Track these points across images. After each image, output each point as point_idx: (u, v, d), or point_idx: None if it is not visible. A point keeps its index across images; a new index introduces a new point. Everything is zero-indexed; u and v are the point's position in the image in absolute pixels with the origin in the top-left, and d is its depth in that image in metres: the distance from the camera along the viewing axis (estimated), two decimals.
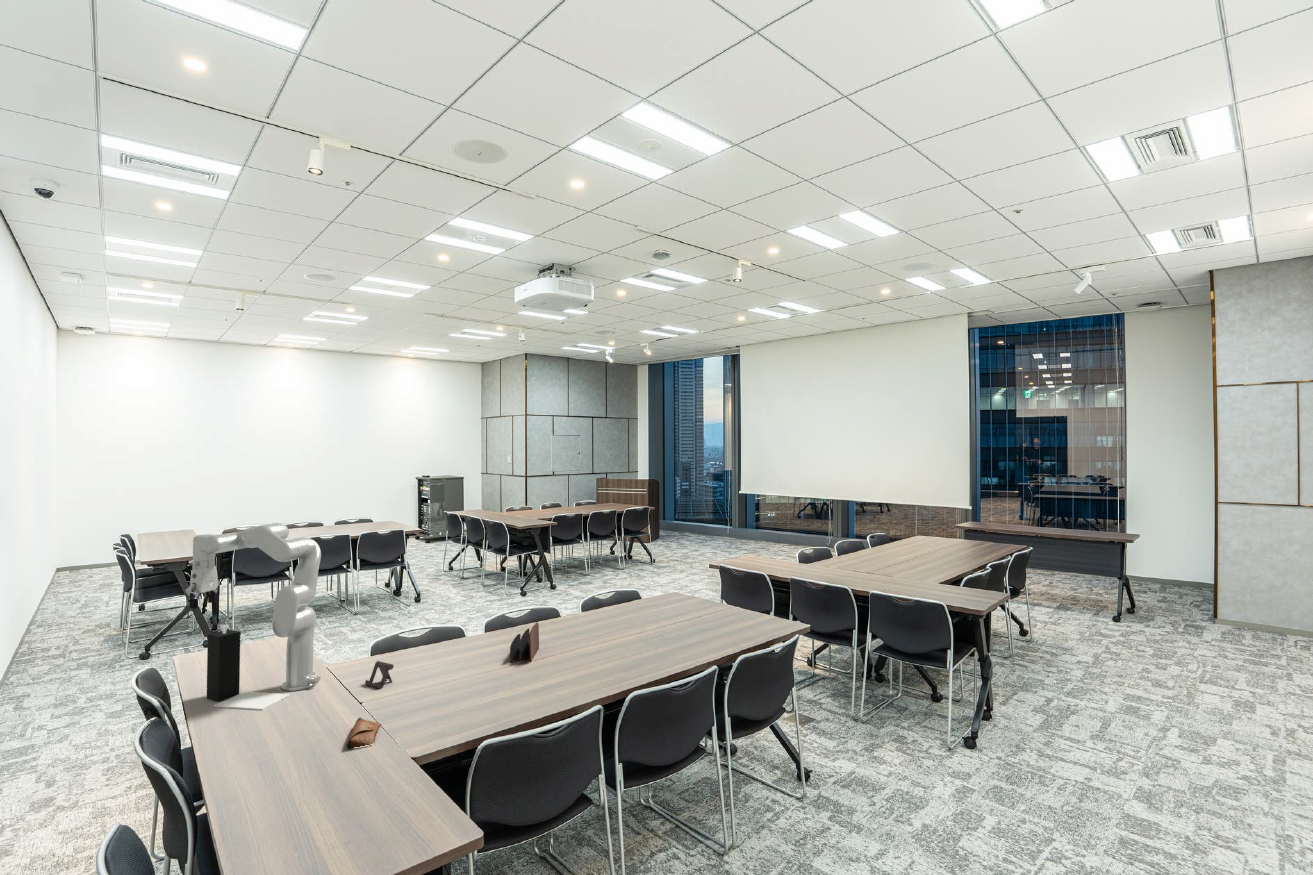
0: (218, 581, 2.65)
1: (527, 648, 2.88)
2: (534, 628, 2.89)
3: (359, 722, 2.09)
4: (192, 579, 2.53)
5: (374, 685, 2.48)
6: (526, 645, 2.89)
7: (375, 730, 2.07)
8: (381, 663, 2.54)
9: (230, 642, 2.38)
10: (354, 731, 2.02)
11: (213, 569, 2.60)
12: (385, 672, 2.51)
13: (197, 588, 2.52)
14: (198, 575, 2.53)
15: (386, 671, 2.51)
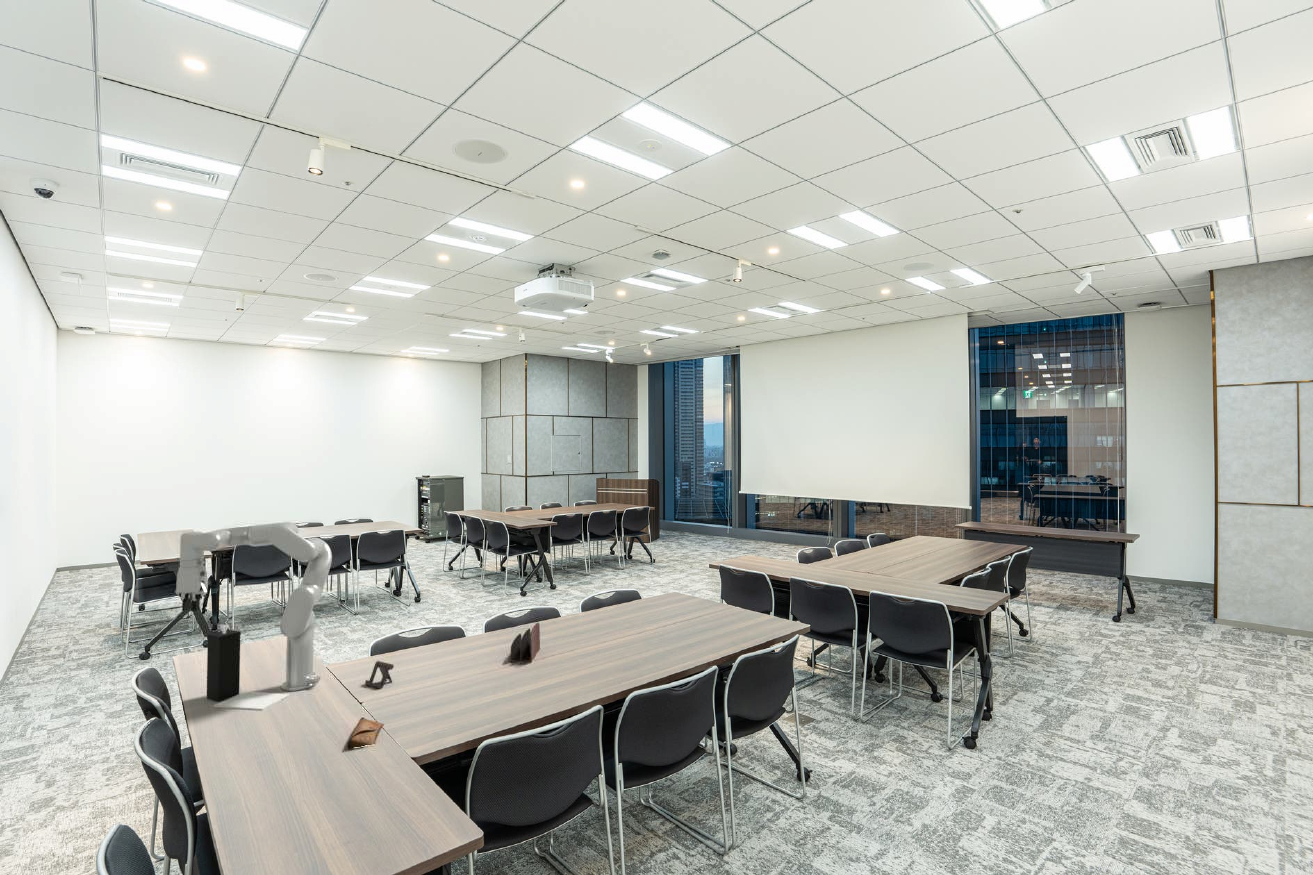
0: None
1: (528, 648, 2.88)
2: (535, 628, 2.89)
3: (361, 722, 2.09)
4: (200, 577, 2.41)
5: (374, 685, 2.48)
6: (527, 645, 2.89)
7: (377, 730, 2.07)
8: (381, 663, 2.54)
9: (230, 642, 2.38)
10: (355, 731, 2.02)
11: None
12: (385, 672, 2.51)
13: (206, 585, 2.43)
14: (206, 572, 2.44)
15: (386, 671, 2.51)
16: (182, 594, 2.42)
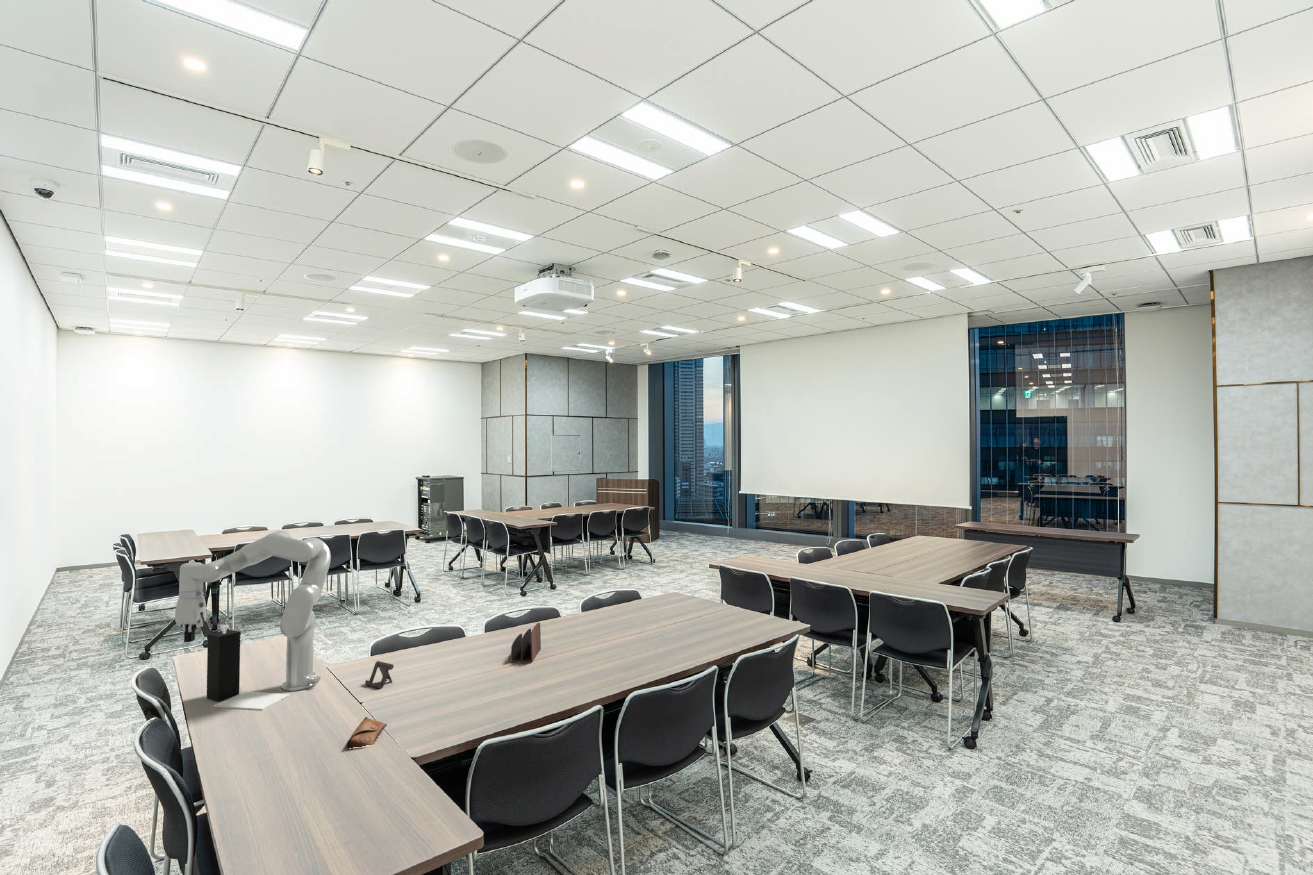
0: None
1: (528, 648, 2.88)
2: (535, 628, 2.89)
3: (364, 721, 2.09)
4: (199, 609, 2.41)
5: (374, 685, 2.48)
6: (527, 645, 2.89)
7: (378, 730, 2.07)
8: (381, 663, 2.54)
9: (230, 642, 2.38)
10: (356, 730, 2.02)
11: None
12: (385, 672, 2.51)
13: (205, 616, 2.43)
14: (205, 603, 2.43)
15: (386, 671, 2.51)
16: (183, 625, 2.41)
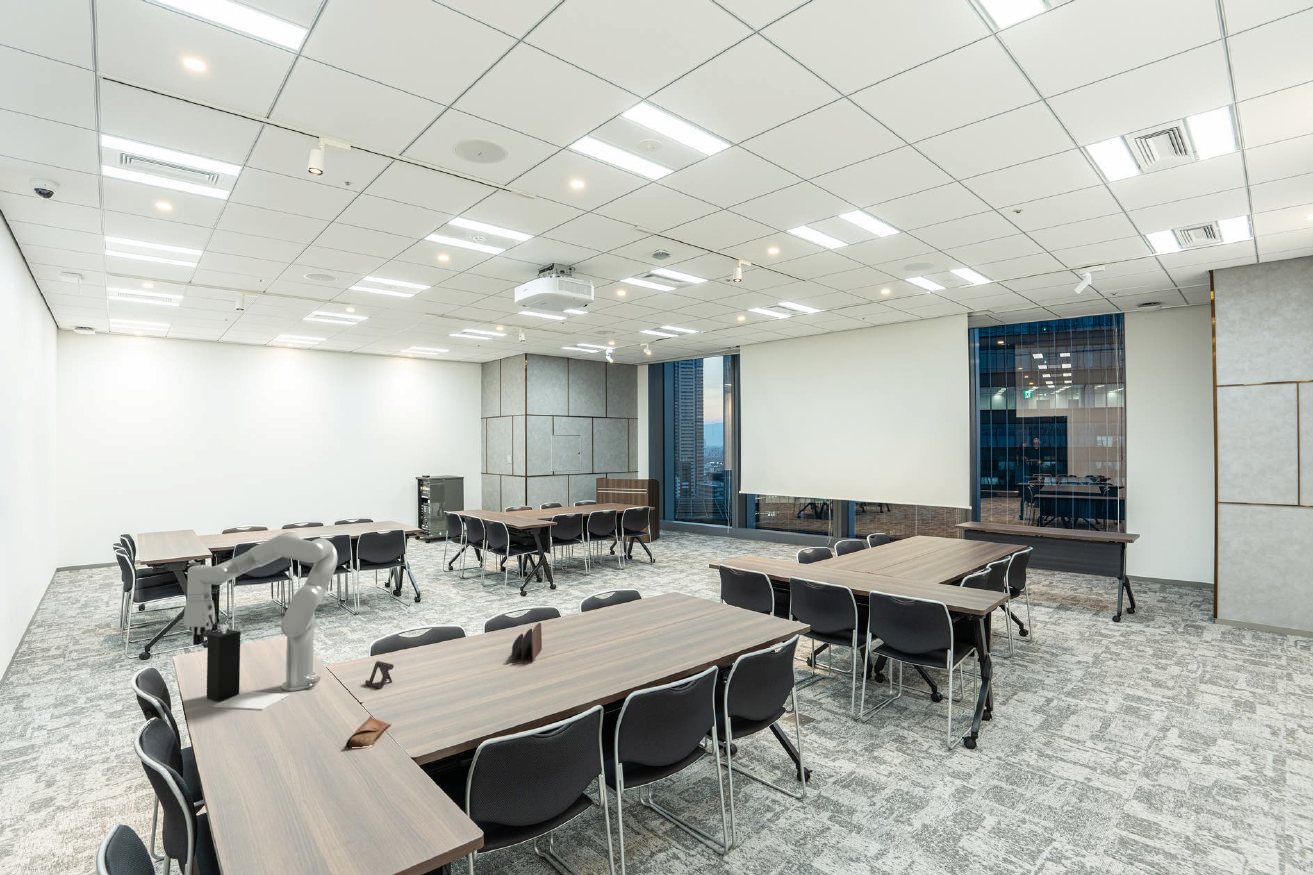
0: None
1: (529, 648, 2.88)
2: (536, 628, 2.89)
3: (367, 721, 2.09)
4: (208, 611, 2.40)
5: (374, 685, 2.48)
6: (528, 645, 2.89)
7: (380, 731, 2.06)
8: (381, 663, 2.54)
9: (230, 642, 2.38)
10: (357, 730, 2.03)
11: None
12: (385, 672, 2.51)
13: (213, 619, 2.43)
14: (213, 605, 2.43)
15: (386, 671, 2.51)
16: (192, 628, 2.40)
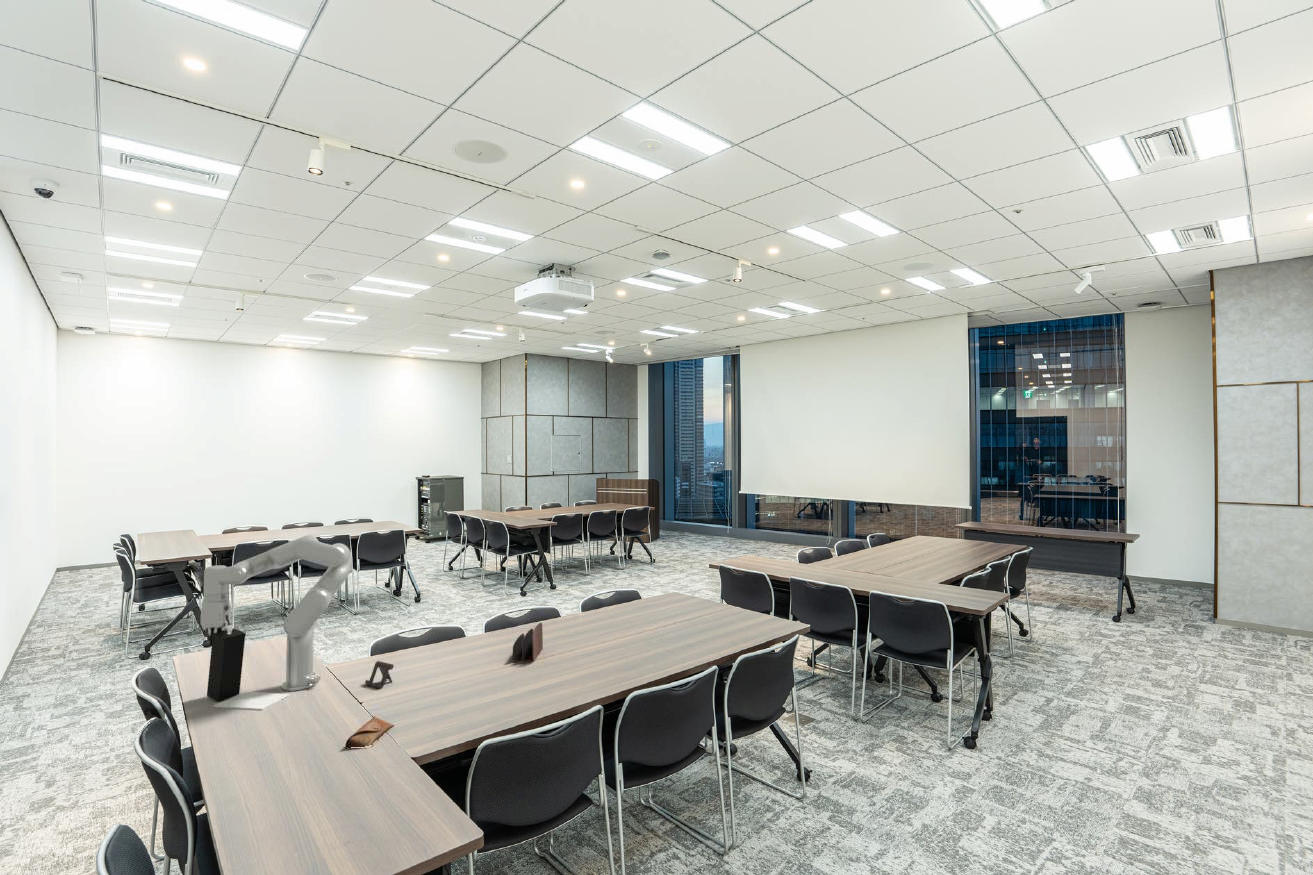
0: None
1: (530, 648, 2.88)
2: (537, 628, 2.89)
3: (370, 721, 2.09)
4: (224, 612, 2.39)
5: (374, 685, 2.48)
6: (529, 645, 2.89)
7: (381, 731, 2.06)
8: (381, 663, 2.54)
9: (234, 643, 2.37)
10: (358, 730, 2.03)
11: None
12: (385, 672, 2.51)
13: (230, 620, 2.41)
14: (229, 606, 2.42)
15: (386, 671, 2.51)
16: (208, 629, 2.39)
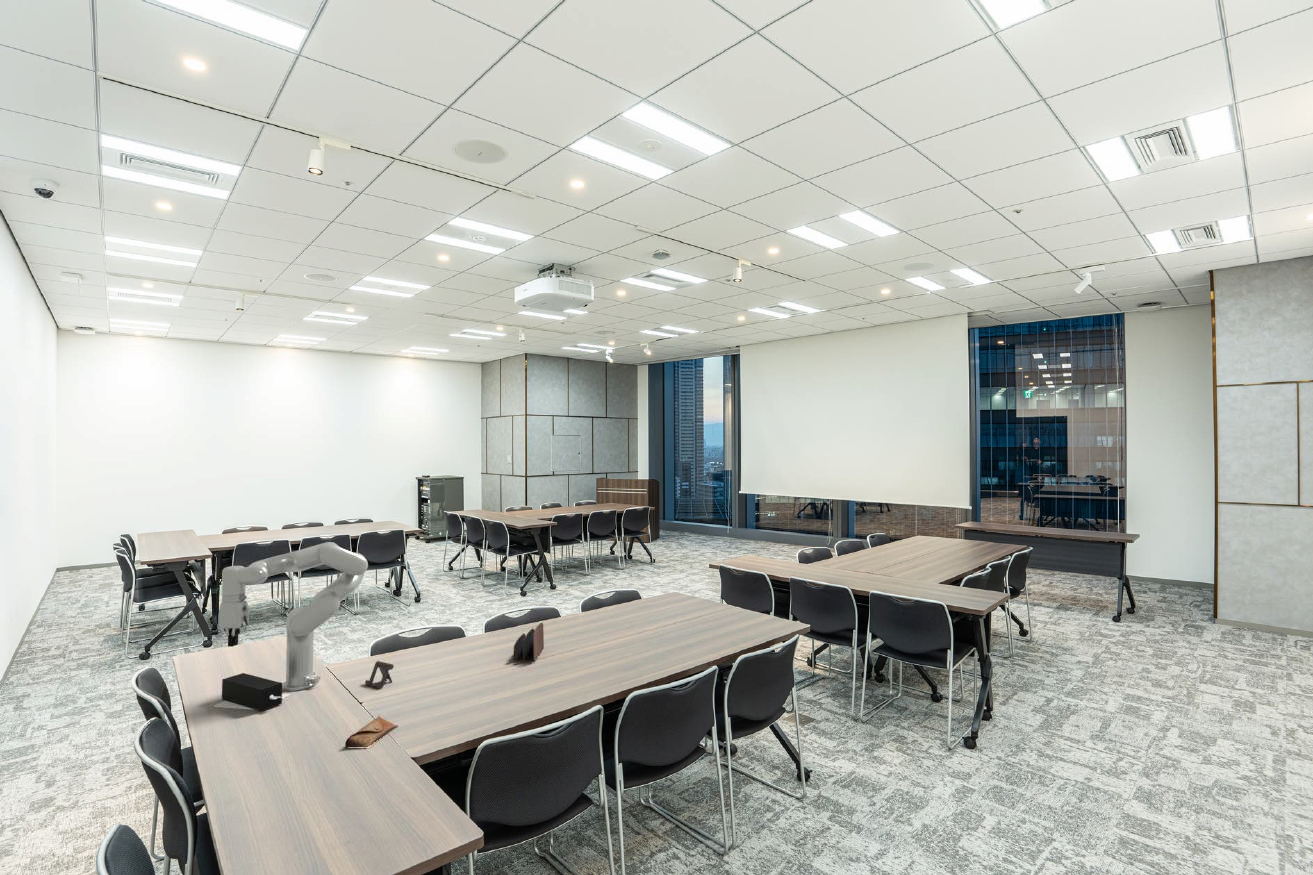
0: None
1: (531, 648, 2.88)
2: (538, 628, 2.89)
3: (373, 721, 2.10)
4: (242, 612, 2.38)
5: (374, 685, 2.48)
6: (530, 645, 2.89)
7: (382, 732, 2.06)
8: (381, 663, 2.54)
9: None
10: (359, 730, 2.03)
11: None
12: (385, 672, 2.51)
13: (248, 620, 2.40)
14: (247, 606, 2.41)
15: (386, 671, 2.51)
16: (226, 629, 2.38)
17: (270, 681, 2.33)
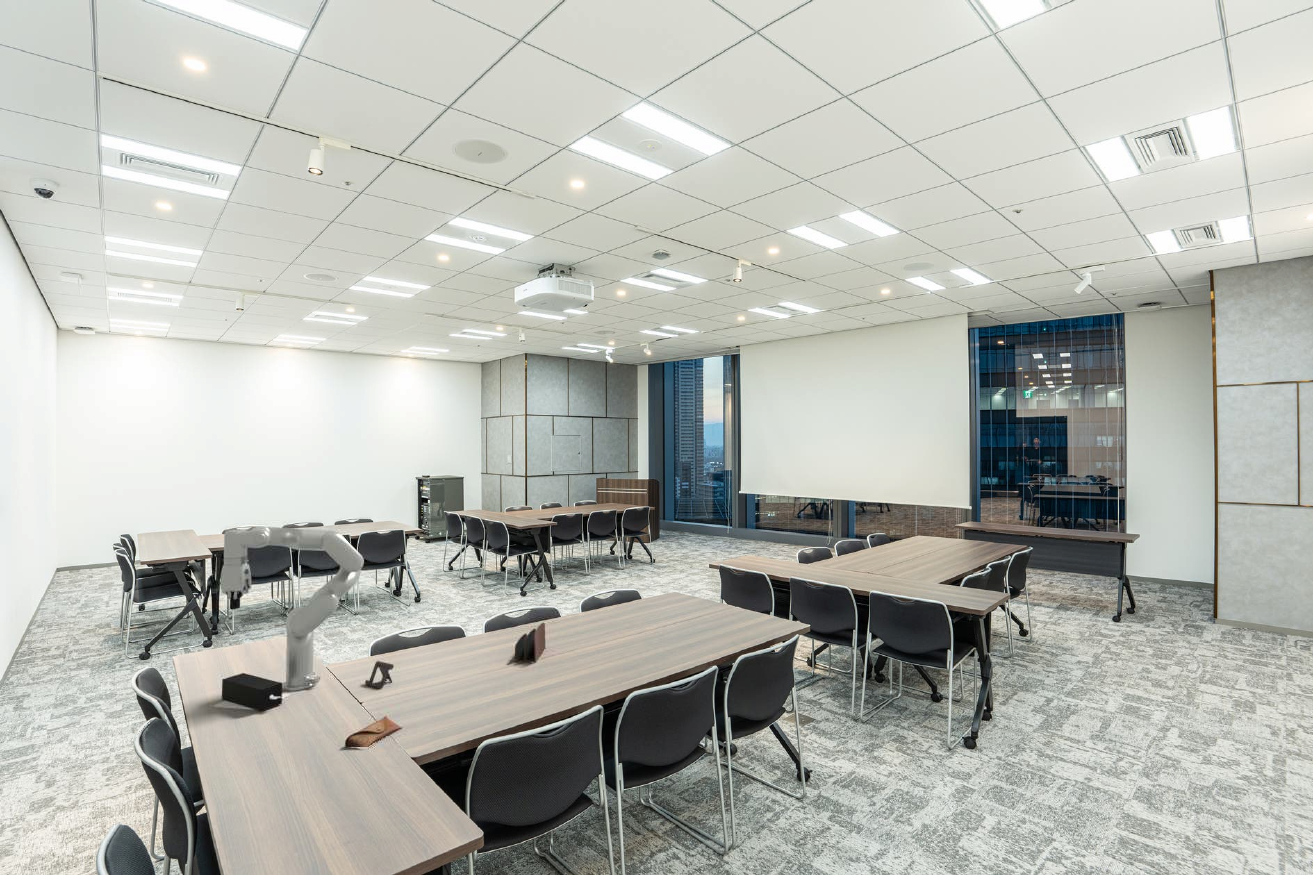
0: None
1: (532, 648, 2.88)
2: (539, 628, 2.89)
3: (377, 721, 2.09)
4: (244, 575, 2.39)
5: (374, 685, 2.48)
6: (532, 645, 2.89)
7: (383, 733, 2.05)
8: (381, 663, 2.54)
9: None
10: None
11: None
12: (385, 672, 2.51)
13: (250, 584, 2.41)
14: (249, 570, 2.41)
15: (386, 671, 2.51)
16: (228, 592, 2.39)
17: (270, 681, 2.33)
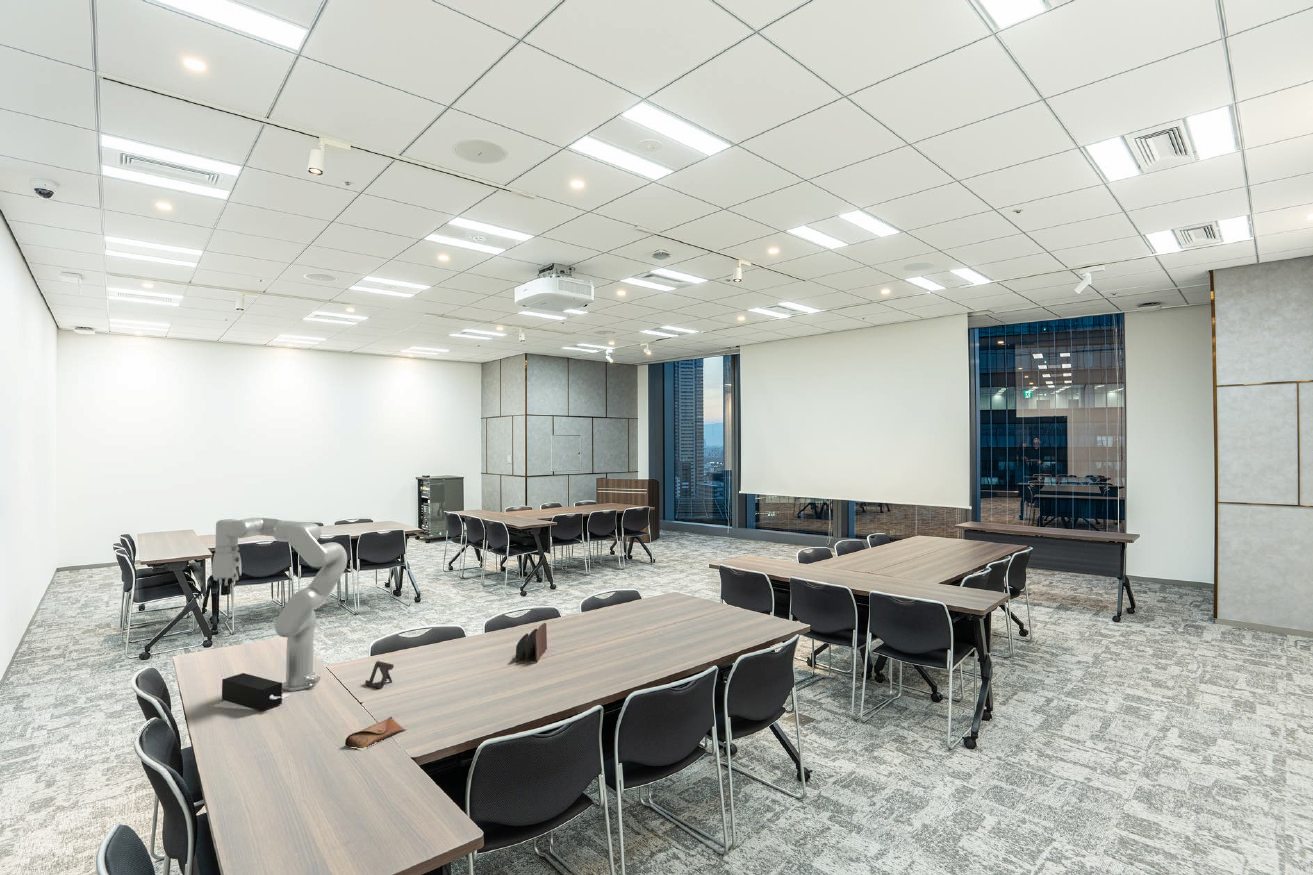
0: None
1: (534, 648, 2.88)
2: (541, 628, 2.89)
3: None
4: (235, 563, 2.50)
5: (374, 685, 2.48)
6: (533, 645, 2.89)
7: (384, 735, 2.04)
8: (381, 663, 2.54)
9: None
10: None
11: None
12: (385, 672, 2.51)
13: (240, 571, 2.53)
14: (240, 558, 2.53)
15: (386, 671, 2.51)
16: (220, 579, 2.51)
17: (270, 681, 2.33)
